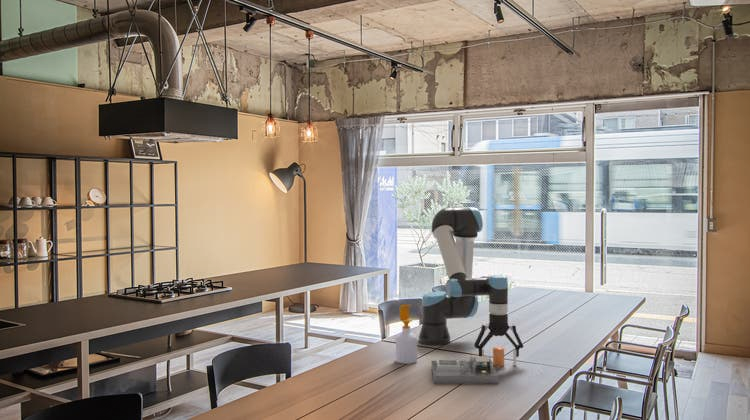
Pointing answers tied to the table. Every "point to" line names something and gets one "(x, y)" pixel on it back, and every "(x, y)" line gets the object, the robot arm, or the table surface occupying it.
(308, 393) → the table surface
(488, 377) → the breaker panel
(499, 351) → the cap
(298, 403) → the table surface
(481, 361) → the block
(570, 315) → the table surface
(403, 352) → the soap bottle
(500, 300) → the robot arm
